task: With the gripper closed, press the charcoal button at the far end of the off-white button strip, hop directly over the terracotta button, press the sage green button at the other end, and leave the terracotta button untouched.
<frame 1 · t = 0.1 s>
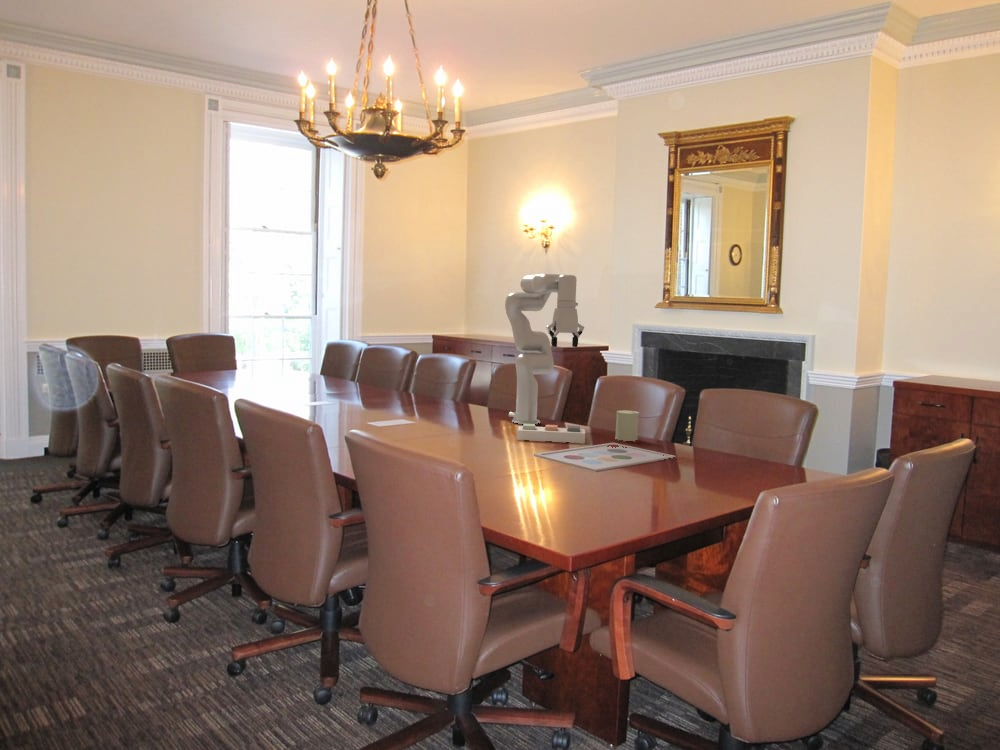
hand: (564, 346, 345), 37 cm above the table, tool pointing down, fingers open, 9 cm apart
button strip: (550, 439, 339), on the table
charcoal button: (573, 431, 338), point 4 cm above the table, slide at 0.0 cm
sage button: (529, 429, 339), point 4 cm above the table, slide at 0.0 cm
terracotta button: (551, 430, 339), point 4 cm above the table, slide at 0.0 cm
can: (626, 440, 345), on the table
dotted sorting mat: (605, 458, 307), on the table
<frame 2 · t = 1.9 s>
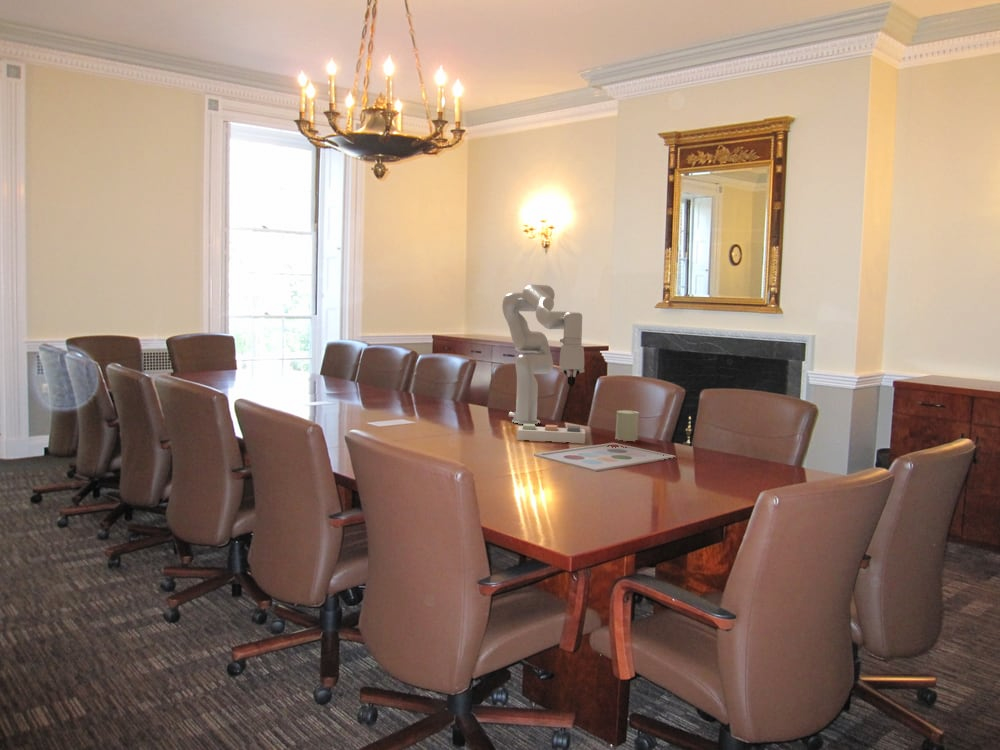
hand: (571, 386, 348), 21 cm above the table, tool pointing down, fingers closed
nothing on the table moved.
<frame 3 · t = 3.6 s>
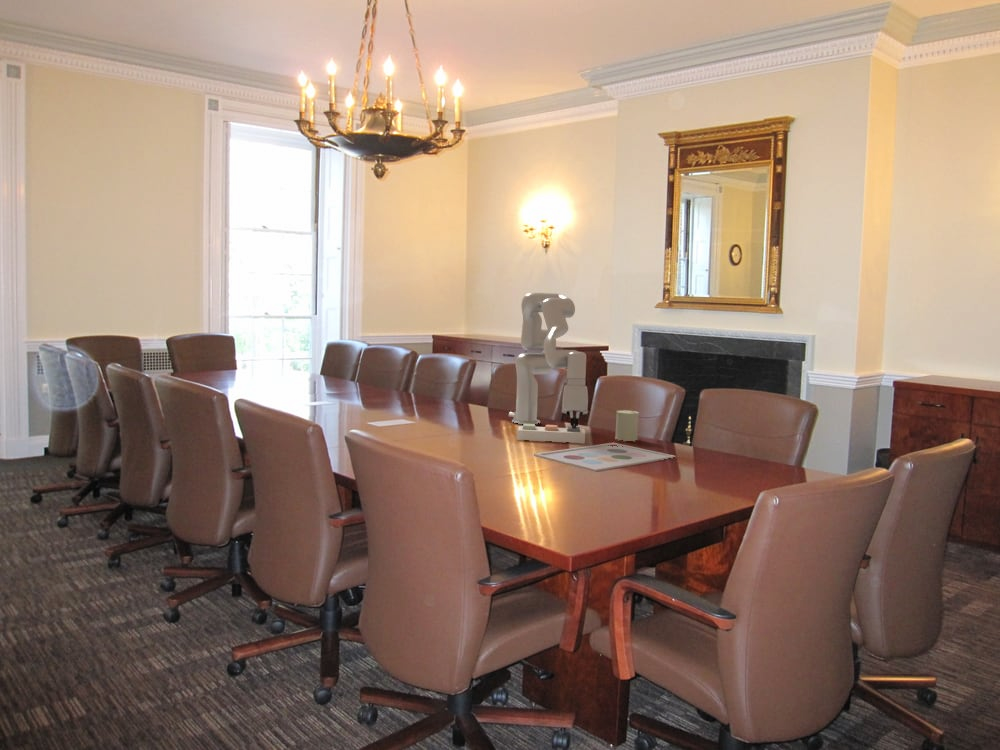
hand: (574, 427, 338), 5 cm above the table, tool pointing down, fingers closed
charcoal button: (573, 431, 338), point 3 cm above the table, slide at 0.3 cm, touching gripper
everything else where it was.
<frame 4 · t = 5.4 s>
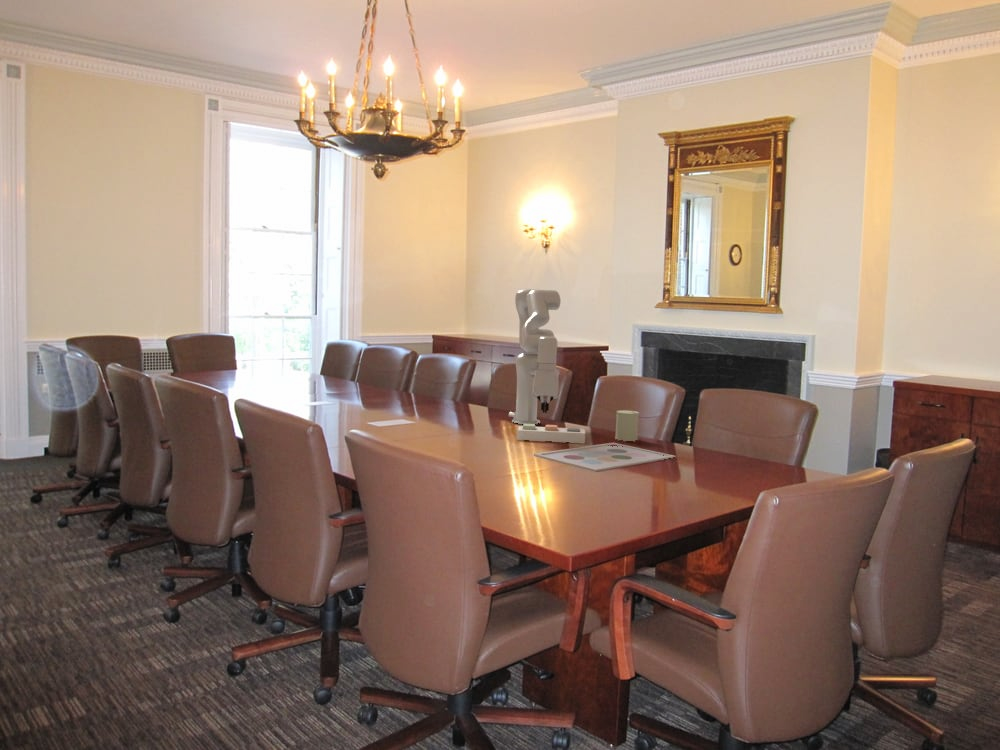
hand: (544, 412, 338), 11 cm above the table, tool pointing down, fingers closed
charcoal button: (573, 433, 338), point 3 cm above the table, slide at 1.0 cm
everything else where it was.
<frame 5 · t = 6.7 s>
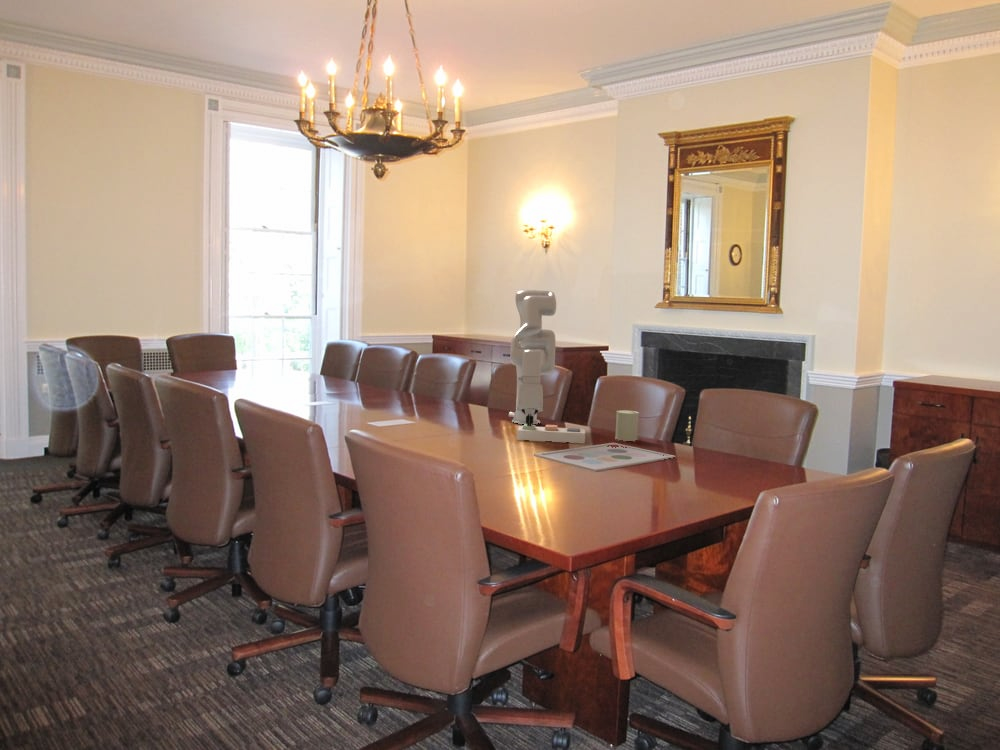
hand: (529, 425, 339), 5 cm above the table, tool pointing down, fingers closed
sage button: (529, 429, 339), point 4 cm above the table, slide at 0.2 cm, touching gripper
everything else where it was.
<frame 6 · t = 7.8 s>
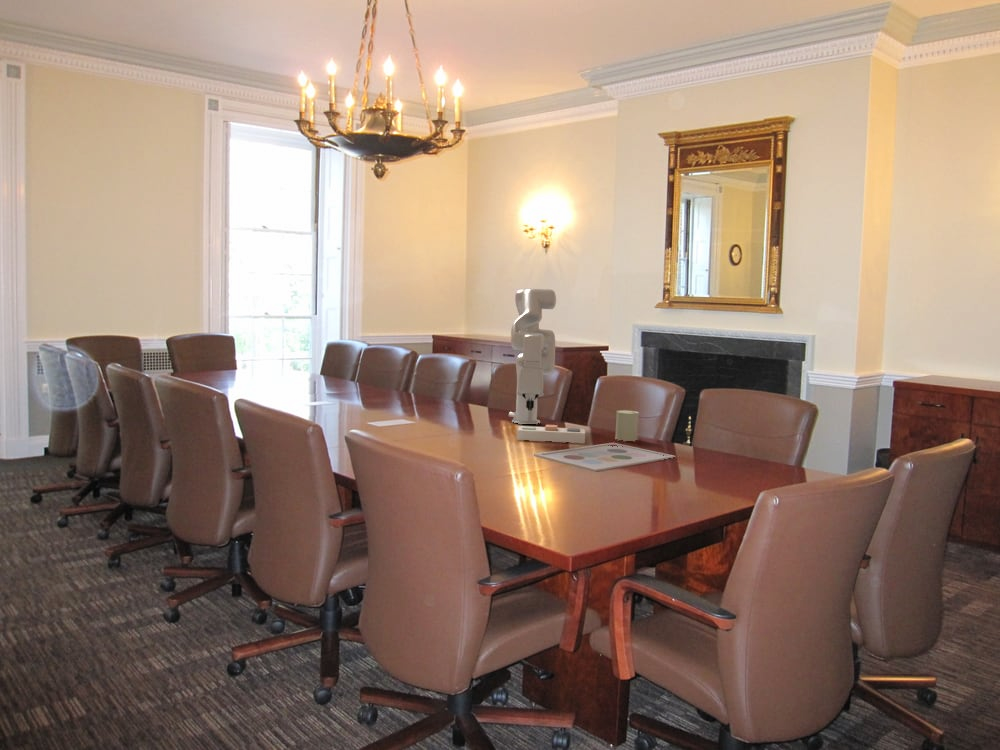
hand: (529, 409, 339), 12 cm above the table, tool pointing down, fingers closed
sage button: (529, 431, 339), point 3 cm above the table, slide at 1.0 cm
everything else where it was.
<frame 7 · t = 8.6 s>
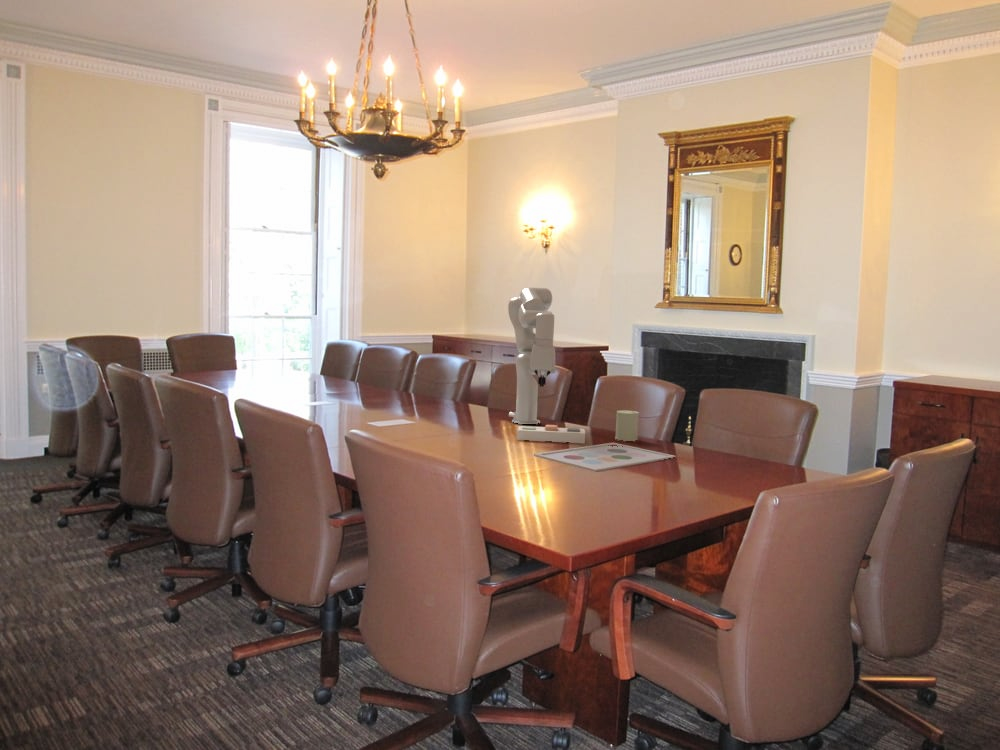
hand: (541, 386, 350), 20 cm above the table, tool pointing down, fingers closed
nothing on the table moved.
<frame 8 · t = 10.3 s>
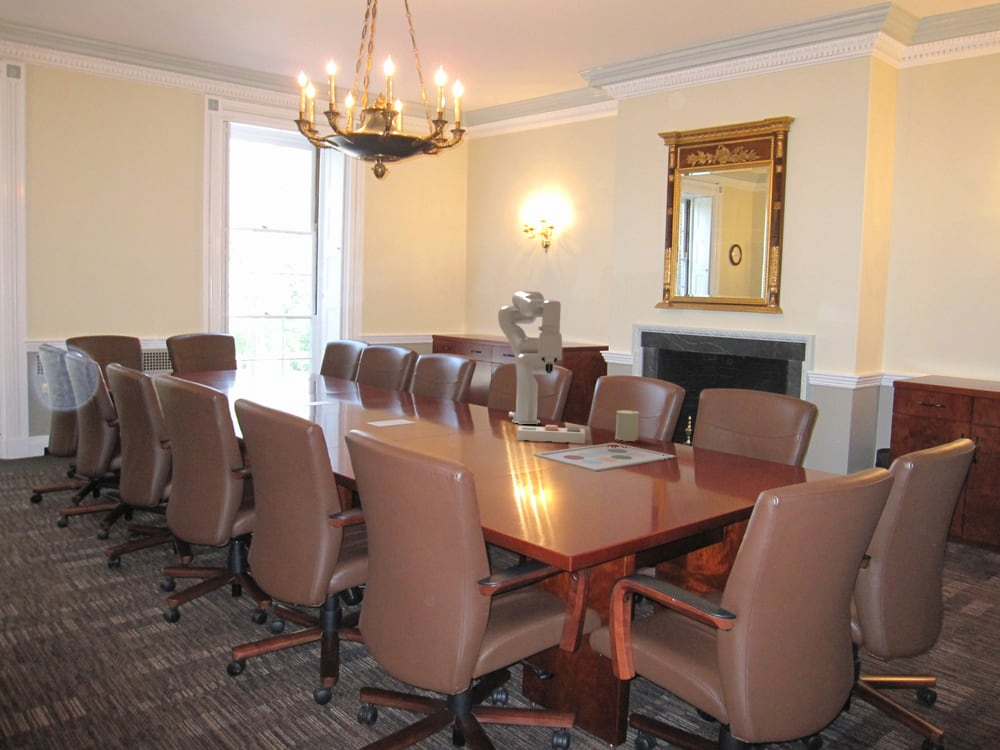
hand: (549, 373, 354), 25 cm above the table, tool pointing down, fingers closed
nothing on the table moved.
at the end: charcoal button slide at 1.0 cm; sage button slide at 1.0 cm; terracotta button slide at 0.0 cm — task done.
